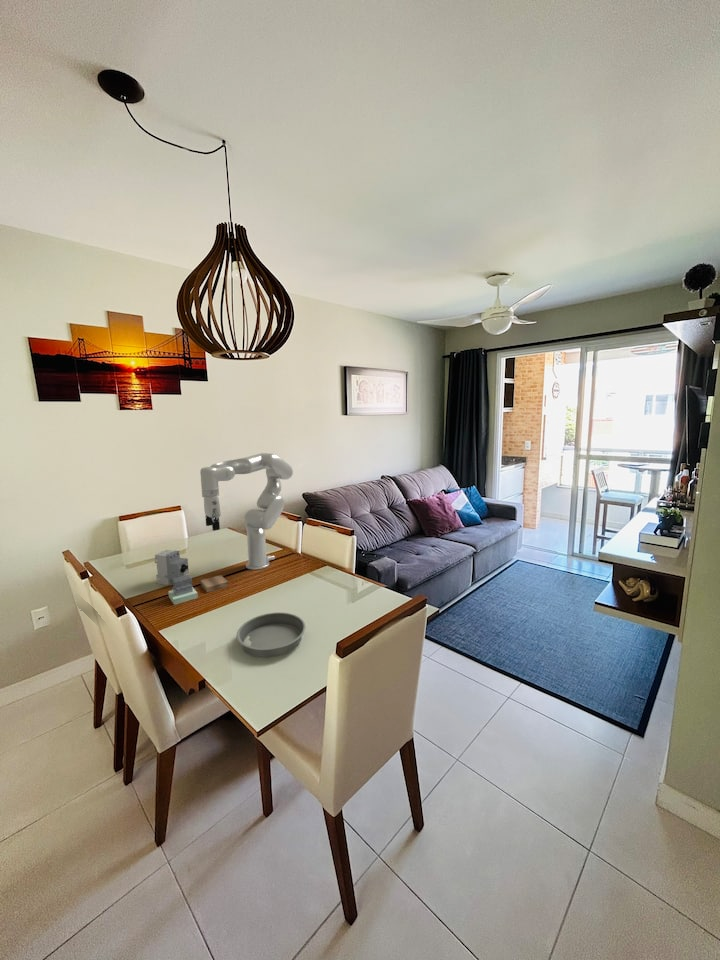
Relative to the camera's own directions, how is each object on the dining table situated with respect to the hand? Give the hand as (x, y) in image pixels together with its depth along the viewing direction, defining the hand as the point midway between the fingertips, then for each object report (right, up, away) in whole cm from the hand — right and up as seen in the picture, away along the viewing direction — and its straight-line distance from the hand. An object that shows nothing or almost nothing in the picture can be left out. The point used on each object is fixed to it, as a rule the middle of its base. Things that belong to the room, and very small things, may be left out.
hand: (212, 527), depth 183 cm
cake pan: (+39, -36, -43) cm, 68 cm away
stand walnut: (0, -28, +1) cm, 29 cm away
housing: (-9, -28, -11) cm, 31 cm away
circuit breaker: (-21, -28, +6) cm, 36 cm away
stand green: (-10, -30, -10) cm, 33 cm away
